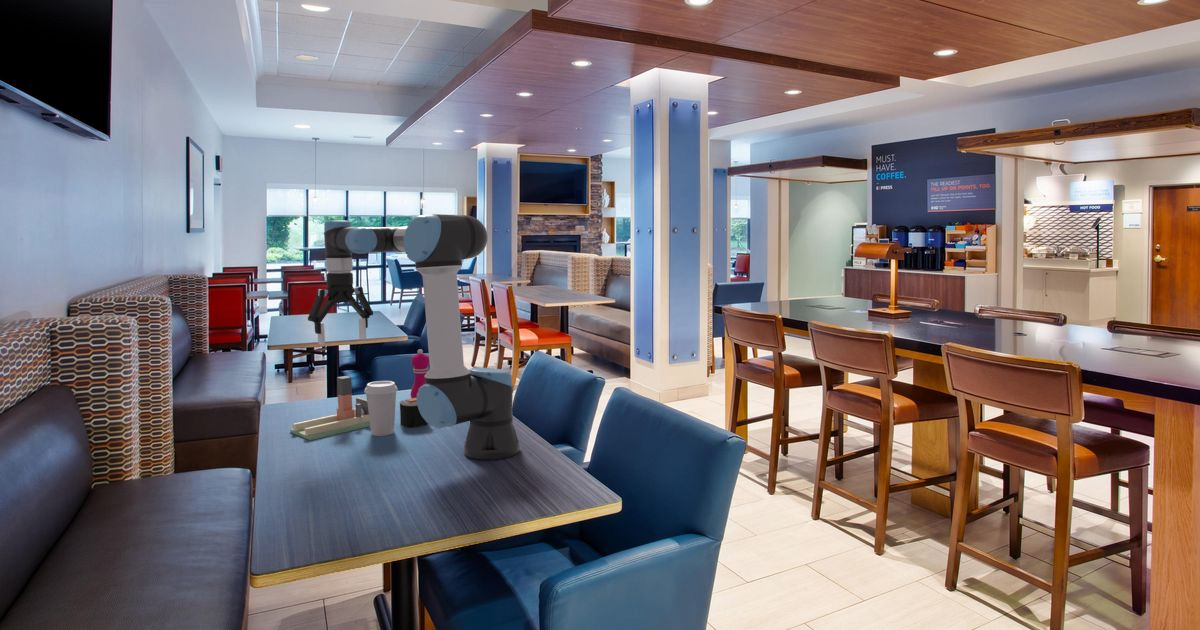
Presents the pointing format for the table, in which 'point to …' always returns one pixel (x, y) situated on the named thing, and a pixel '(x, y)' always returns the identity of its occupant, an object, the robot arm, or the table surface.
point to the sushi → (411, 414)
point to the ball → (361, 412)
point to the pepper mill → (419, 371)
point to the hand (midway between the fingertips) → (342, 341)
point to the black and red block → (344, 398)
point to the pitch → (333, 423)
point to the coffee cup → (381, 406)
